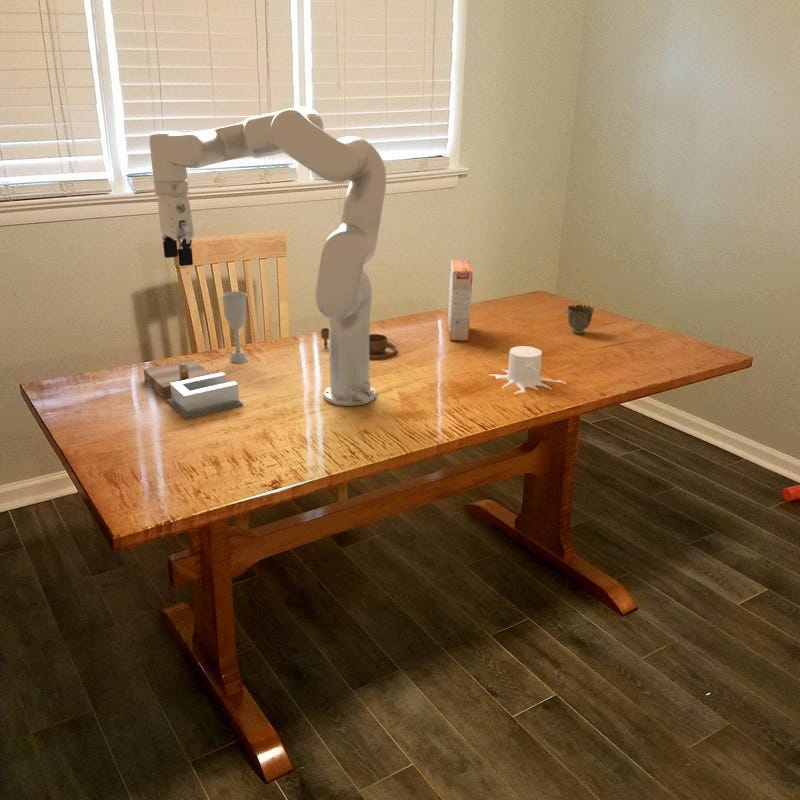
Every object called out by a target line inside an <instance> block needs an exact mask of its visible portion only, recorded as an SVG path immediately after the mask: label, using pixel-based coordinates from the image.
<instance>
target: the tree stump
mask: <svg viewBox="0 0 800 800" xmlns="http://www.w3.org/2000/svg"><path fill="white" fill-rule="evenodd" d="M508 355H509V357H508V367H507V368H508V370H507V369H503V371H504V372H506V373H507V374H496V373H495V374H494V373H493V374H490V376H493V377H495V378H496V379H497V380H505V381H506V380H507V381H508V382H507V383H505V384H504V385H503V386H502V390H503V389H504V387H505V388H506V387H511V386H516V387H518V388H519V389H520V390H517V391H516V392H514V393H513V394H514V395H516V394H521V393H524V394H525V393H526V388H531V389H533V390H537V391H539V389H538V388H537V386H540V387H544V388H548V389H550V390H552V389H553V388H551V387H550V386H549V385H547V384H545V383H543V382H553V383H554V382H556V383H562V384H565V385H567V383H566V381H564V380H563V381H562V380H560V379H557V380H555V379H554V380H553V379H550V378H546V377H543V376H541V367H542V357H543V356H542V355H543V351H542V350H541V349H539V348H535V347H533V346H529V345H527V346H524V345H523V346H522V345H520V346H514V347H511V348H510V350H509V353H508Z"/></svg>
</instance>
